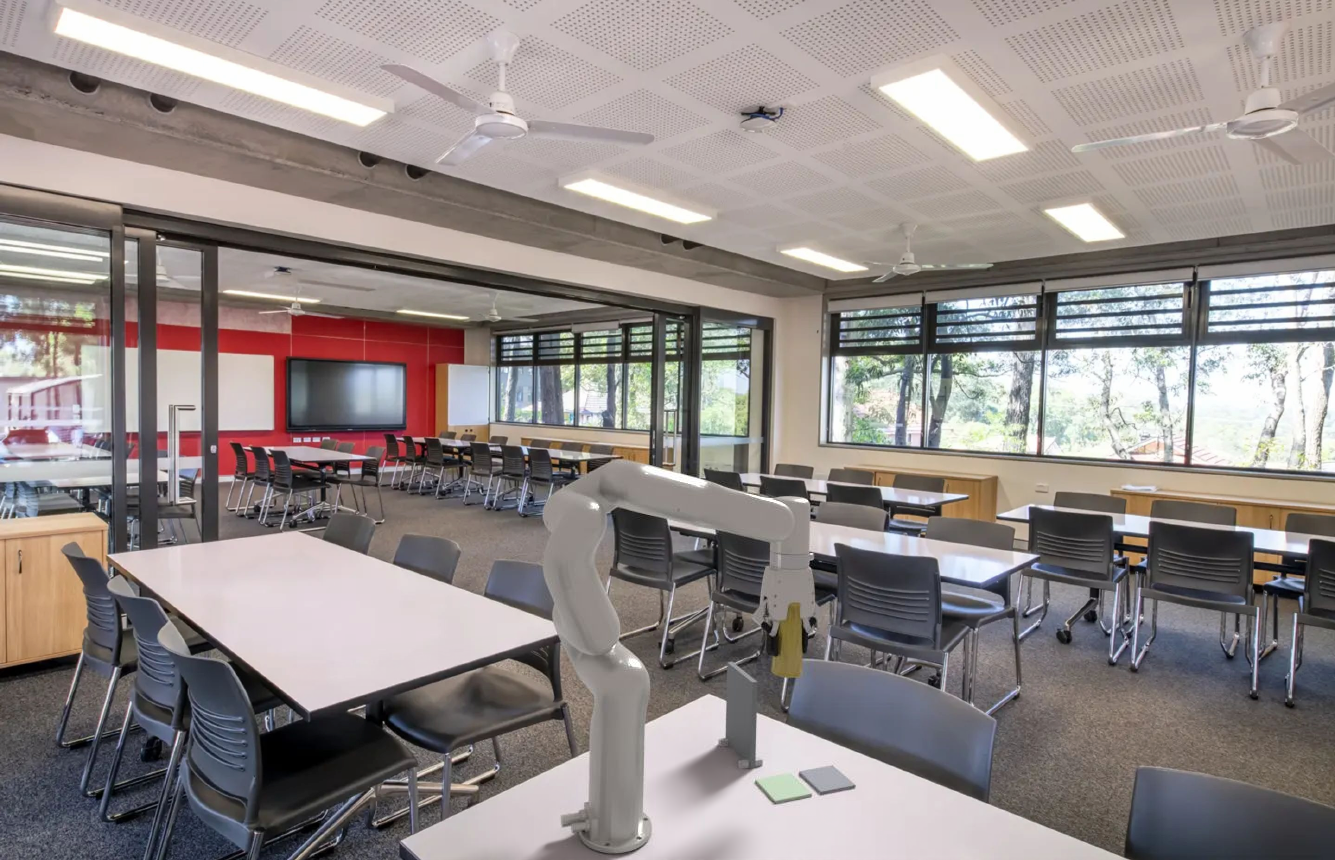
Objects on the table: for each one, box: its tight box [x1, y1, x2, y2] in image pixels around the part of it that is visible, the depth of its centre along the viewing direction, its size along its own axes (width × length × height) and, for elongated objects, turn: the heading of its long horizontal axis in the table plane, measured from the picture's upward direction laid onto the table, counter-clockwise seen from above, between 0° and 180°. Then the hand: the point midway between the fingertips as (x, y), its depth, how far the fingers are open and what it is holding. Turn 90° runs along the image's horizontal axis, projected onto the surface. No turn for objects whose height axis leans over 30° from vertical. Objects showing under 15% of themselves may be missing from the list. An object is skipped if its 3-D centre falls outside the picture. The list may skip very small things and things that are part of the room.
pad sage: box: [754, 772, 813, 804], centre depth 135 cm, size 8×8×1 cm
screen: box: [717, 661, 764, 770], centre depth 148 cm, size 5×12×18 cm, turn 20°
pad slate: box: [798, 764, 857, 795], centre depth 139 cm, size 8×8×1 cm
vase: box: [770, 603, 804, 679], centre depth 135 cm, size 6×6×14 cm
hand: (786, 651), depth 135 cm, fingers closed on vase, 5 cm apart
